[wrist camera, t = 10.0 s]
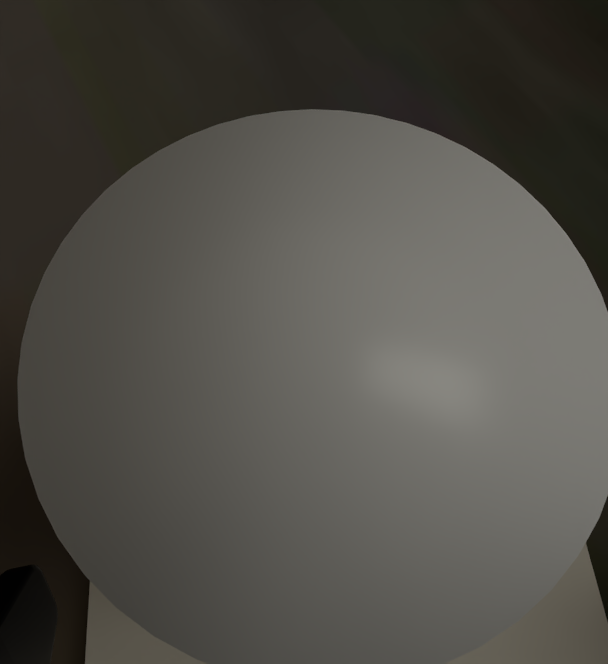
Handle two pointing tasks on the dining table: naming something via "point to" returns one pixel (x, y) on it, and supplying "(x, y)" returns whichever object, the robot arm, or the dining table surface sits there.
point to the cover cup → (318, 394)
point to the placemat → (488, 660)
